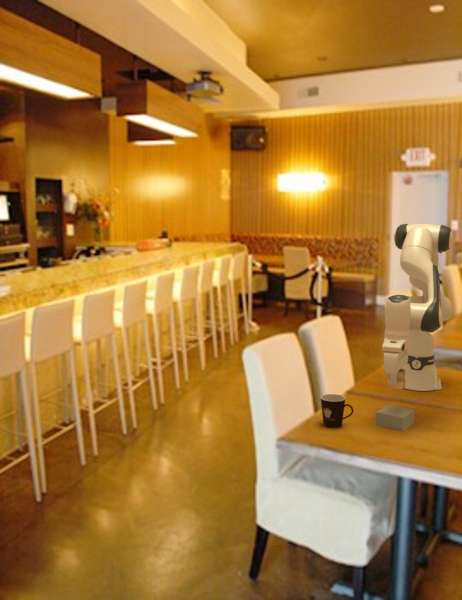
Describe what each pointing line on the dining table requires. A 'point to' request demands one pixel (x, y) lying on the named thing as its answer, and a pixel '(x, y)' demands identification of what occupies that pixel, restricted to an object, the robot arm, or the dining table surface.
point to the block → (395, 417)
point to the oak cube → (400, 380)
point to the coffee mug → (333, 410)
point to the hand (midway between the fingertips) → (396, 381)
